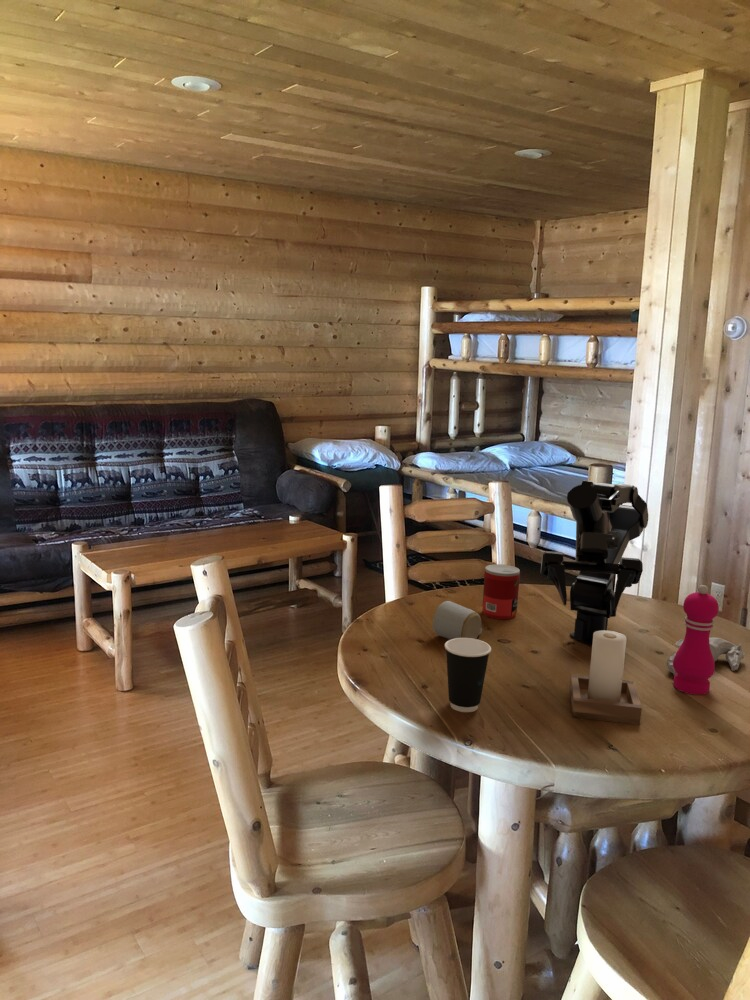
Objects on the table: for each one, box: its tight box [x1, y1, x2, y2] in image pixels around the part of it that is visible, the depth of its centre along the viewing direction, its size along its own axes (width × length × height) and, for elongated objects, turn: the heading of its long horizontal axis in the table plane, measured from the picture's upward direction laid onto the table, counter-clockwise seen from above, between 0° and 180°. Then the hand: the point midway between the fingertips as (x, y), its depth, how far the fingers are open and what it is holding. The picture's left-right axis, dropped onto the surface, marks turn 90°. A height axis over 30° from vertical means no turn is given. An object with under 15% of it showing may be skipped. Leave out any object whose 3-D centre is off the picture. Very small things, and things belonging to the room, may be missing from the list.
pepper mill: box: [673, 584, 720, 696], centre depth 147 cm, size 7×7×20 cm
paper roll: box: [587, 629, 628, 703], centre depth 138 cm, size 6×6×12 cm
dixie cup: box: [444, 638, 492, 713], centre depth 137 cm, size 8×8×11 cm
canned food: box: [482, 563, 521, 620], centre depth 184 cm, size 8×8×11 cm
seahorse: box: [666, 636, 745, 677], centre depth 158 cm, size 5×12×20 cm
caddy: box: [569, 674, 643, 726], centre depth 139 cm, size 11×11×3 cm
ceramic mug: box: [432, 600, 483, 640], centre depth 169 cm, size 11×8×8 cm
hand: (590, 606), depth 150 cm, fingers open, 9 cm apart
